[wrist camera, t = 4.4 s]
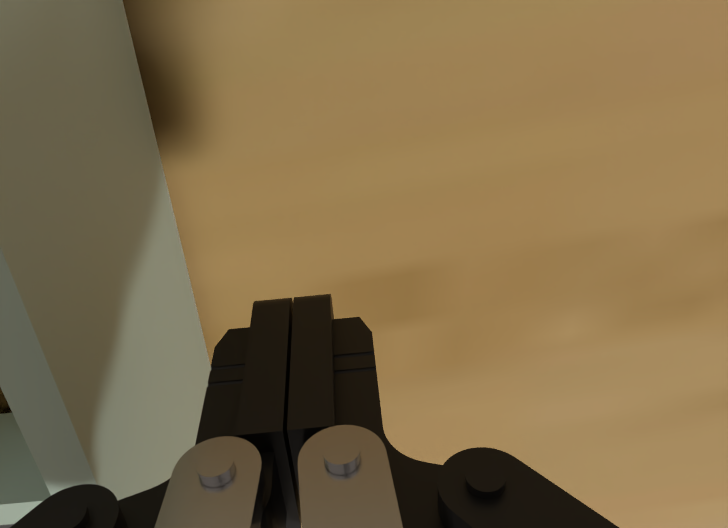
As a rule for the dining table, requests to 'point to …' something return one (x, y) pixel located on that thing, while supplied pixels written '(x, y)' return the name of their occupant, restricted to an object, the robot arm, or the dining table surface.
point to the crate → (87, 265)
